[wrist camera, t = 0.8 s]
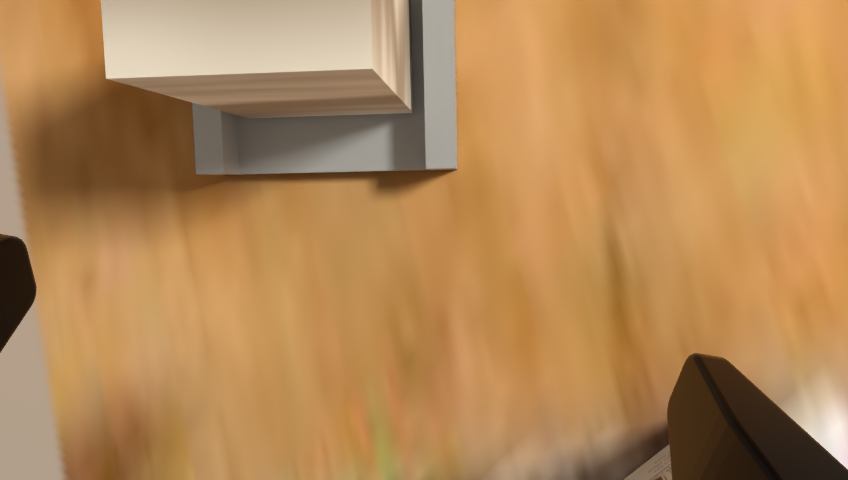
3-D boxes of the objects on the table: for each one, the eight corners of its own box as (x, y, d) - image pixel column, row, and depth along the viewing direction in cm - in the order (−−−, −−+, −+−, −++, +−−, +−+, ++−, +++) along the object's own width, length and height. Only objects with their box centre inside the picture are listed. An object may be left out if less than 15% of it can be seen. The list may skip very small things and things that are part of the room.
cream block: (413, 112, 23) (372, 68, 14) (248, 118, 23) (105, 78, 14) (410, -4, 22) (366, -126, 13) (243, 4, 23) (93, -109, 14)
